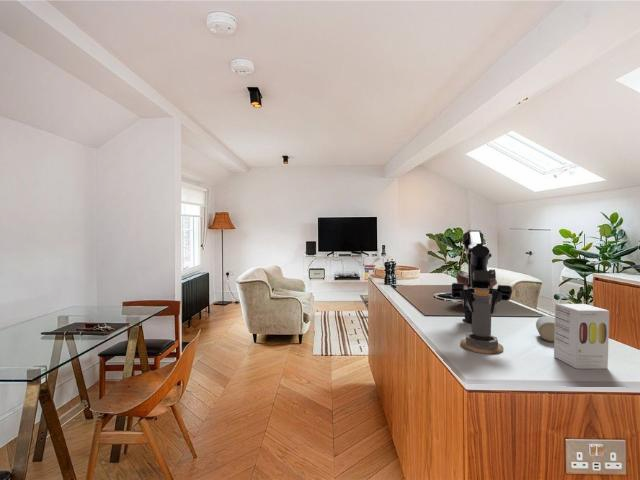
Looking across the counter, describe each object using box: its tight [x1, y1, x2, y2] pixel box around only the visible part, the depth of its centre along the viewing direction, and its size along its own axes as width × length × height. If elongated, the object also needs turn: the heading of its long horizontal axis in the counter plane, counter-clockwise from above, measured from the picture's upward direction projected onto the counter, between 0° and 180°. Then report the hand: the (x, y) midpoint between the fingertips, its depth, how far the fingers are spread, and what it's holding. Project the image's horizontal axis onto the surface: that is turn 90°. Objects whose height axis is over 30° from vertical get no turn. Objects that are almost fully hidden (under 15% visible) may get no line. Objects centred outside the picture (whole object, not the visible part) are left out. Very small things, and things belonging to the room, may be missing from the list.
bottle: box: [471, 289, 492, 336], centre depth 111 cm, size 6×6×15 cm
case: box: [455, 269, 498, 306], centre depth 173 cm, size 18×20×18 cm
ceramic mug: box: [535, 315, 555, 343], centre depth 118 cm, size 11×8×8 cm
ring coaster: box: [460, 332, 504, 355], centre depth 112 cm, size 13×13×3 cm
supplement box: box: [553, 303, 610, 370], centre depth 98 cm, size 10×9×17 cm
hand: (482, 312), depth 110 cm, fingers closed on bottle, 6 cm apart
